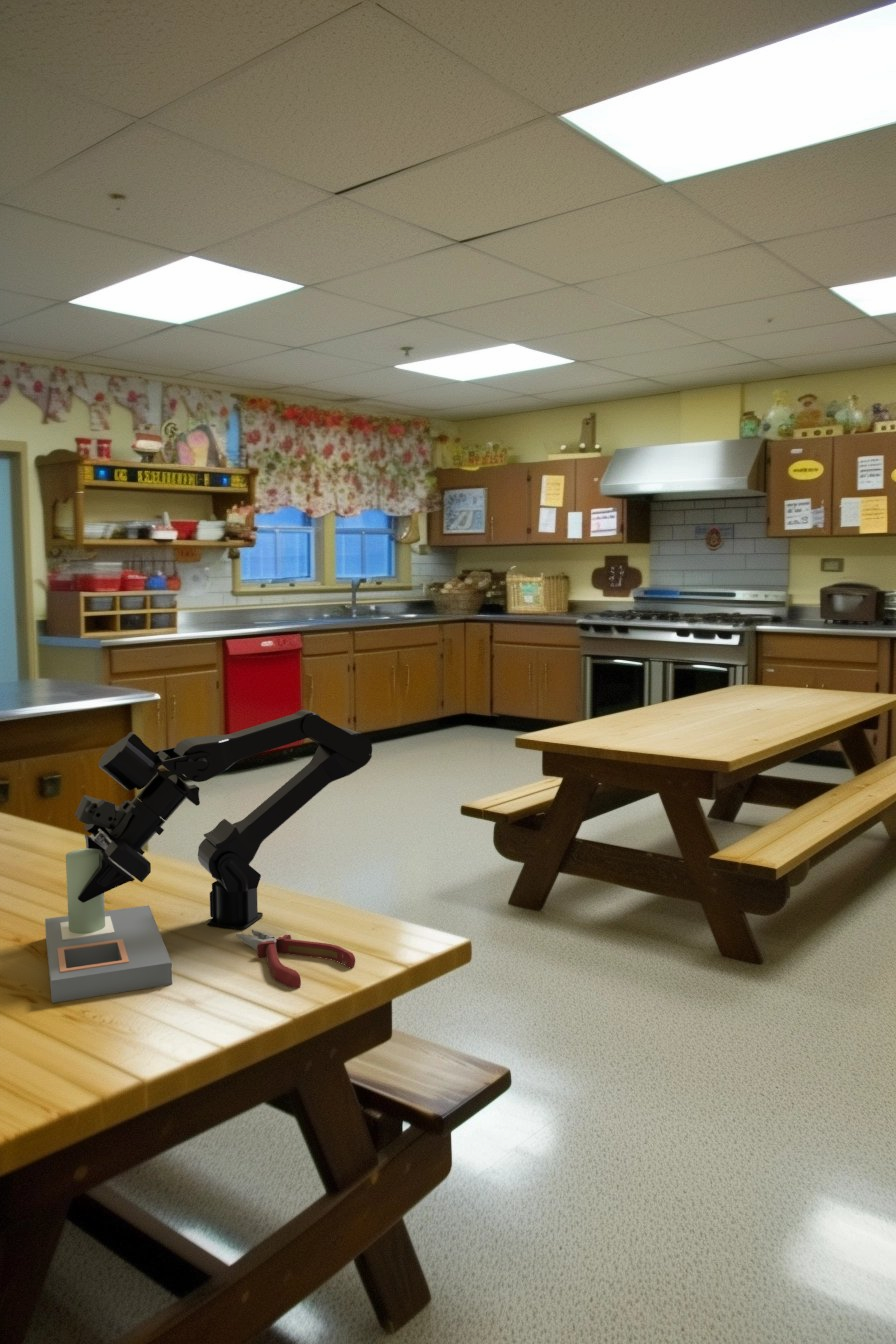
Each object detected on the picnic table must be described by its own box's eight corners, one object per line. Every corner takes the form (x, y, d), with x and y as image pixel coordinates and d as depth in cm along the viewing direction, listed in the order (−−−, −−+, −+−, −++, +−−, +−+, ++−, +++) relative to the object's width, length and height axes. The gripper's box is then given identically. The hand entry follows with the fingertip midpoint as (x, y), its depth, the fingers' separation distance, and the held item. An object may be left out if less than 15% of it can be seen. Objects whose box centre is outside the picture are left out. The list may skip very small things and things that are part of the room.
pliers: (275, 930, 157) (275, 914, 156) (359, 969, 142) (359, 951, 142) (210, 951, 149) (210, 934, 148) (292, 994, 134) (292, 975, 134)
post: (112, 923, 150) (109, 850, 148) (90, 935, 145) (87, 860, 144) (83, 919, 151) (80, 847, 150) (61, 931, 146) (58, 856, 145)
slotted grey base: (172, 984, 136) (171, 961, 136) (52, 1003, 130) (50, 979, 130) (149, 923, 158) (149, 904, 158) (45, 938, 152) (45, 917, 152)
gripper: (96, 764, 155) (21, 844, 151) (124, 788, 139) (42, 879, 135) (150, 808, 160) (79, 887, 156) (183, 837, 144) (105, 926, 140)
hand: (75, 893), depth 147 cm, fingers open, 6 cm apart
